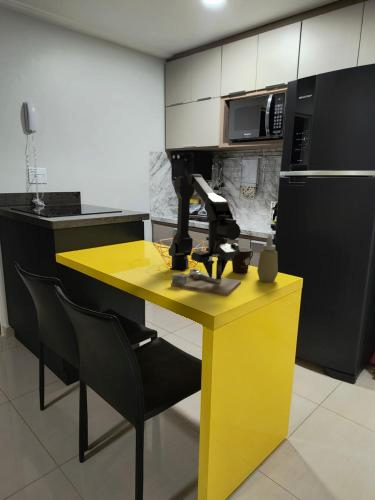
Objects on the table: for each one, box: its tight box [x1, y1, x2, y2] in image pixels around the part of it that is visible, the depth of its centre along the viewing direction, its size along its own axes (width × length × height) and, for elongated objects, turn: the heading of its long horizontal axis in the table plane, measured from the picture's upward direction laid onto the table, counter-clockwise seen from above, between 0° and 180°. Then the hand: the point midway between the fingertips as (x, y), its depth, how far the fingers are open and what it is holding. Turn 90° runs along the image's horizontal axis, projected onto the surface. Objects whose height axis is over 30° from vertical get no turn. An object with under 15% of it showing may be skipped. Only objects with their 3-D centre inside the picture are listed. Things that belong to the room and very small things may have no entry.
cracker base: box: [170, 272, 242, 297], centre depth 127 cm, size 22×16×4 cm
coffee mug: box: [231, 246, 254, 275], centre depth 146 cm, size 12×9×10 cm
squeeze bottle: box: [256, 235, 279, 283], centre depth 133 cm, size 8×8×18 cm
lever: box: [189, 259, 223, 283], centre depth 130 cm, size 15×5×8 cm, turn 45°
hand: (215, 276), depth 125 cm, fingers open, 4 cm apart
